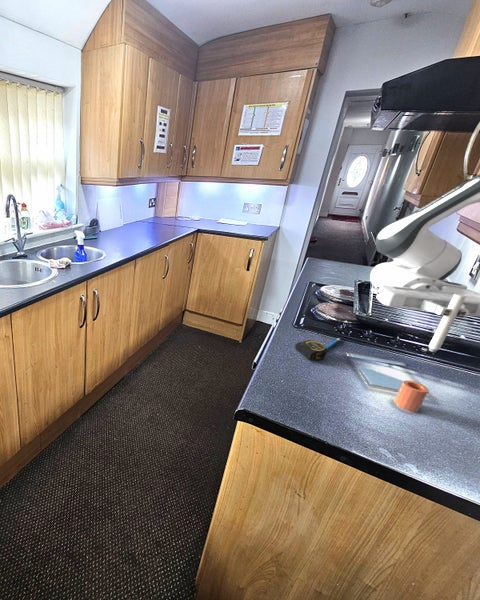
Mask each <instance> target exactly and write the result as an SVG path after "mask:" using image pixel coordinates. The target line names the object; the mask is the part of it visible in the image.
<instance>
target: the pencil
mask: <svg viewBox="0 0 480 600" xmlns="http://www.w3.org/2000/svg"><path fill="white" fill-rule="evenodd" d="M340 341H341V337H338V338H336V339H335V340H333V341H332V342H331V343H329V344H328V345H325V346H326V348H327V350H328V349H329V348H331V347H332V346H333V345H335V344H336V343H337V342H340Z"/></svg>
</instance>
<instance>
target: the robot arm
mask: <svg viewBox="0 0 480 600" xmlns="http://www.w3.org/2000/svg"><path fill="white" fill-rule="evenodd" d="M477 203H480V173H479V174H477V175H476V176H472V178H470V179H468V180H466V181H464V182H462V183H460V184H459V185H457V186H455V187H454V188H452V189H450V190H449V191H447V192H445V193H444V194H442V195H440V196H438V197H437V198H435V199H433V200H432V201H430V202H429V203H427V204H425V205H423V206H421V207H420V208H418V209H417V210H414V211H413V212H411V213H410V214H407V215H406V216H403V217H401V218H399V219H397V220H394V221H393V222H391V223H389V224H387V225H385V227H383V228H382V229H381V230H380V231H379V232H378V233H377V235H376V238H375V248H376V251H377V253H380V254H382V255H383V256H386V257H388V258H389V259H392V260H393V261H386V262H381V263H379V264H377V265H375V266H374V267H373V268H372V269H371V271H370V274H369V280H370V283H371V284H372V286H373V287H371V288H370V292H371V293H373V294H375V295H376V296H375V298H376V300H377V301H379V302H380V303H381V304H382V305H383V306H386V307H388V308H389V307H390V308H397V309H398V308H399V309H405V310H406V309H407V310H410V311H424V312H425V311H426V312H431V313H435V314H436V315H438V316H448V315H449V312H450V311H451V309H450V308H448V306H449V303H450V301H451V299H452V297H453V295H454V294H462V295H465V296H466V298H465V300H464V302H463V304H462V306H461V308H460V310H459V312H458V314H457V316H456V318H462V319H466V318H468V316H470V317H480V293H479V292H477V291H474V290H471V289H468V286H467V285H465V284H462V283H458V282H452V281H448V280H445V279H447V278H448V277H449V276H451V275H452V274H453V273H455V272H456V271H457V269H458V267H459V266H460V264H461V262H462V257H463V253H462V251H461V250H460V249H458V247H456V246H454V245H453V244H451V243H450V242H449V241H447V240H445V239H443V238H442V237H441V236H438V235H437V234H435V233H434V232H433V231H431V230H430V228H431V227H432V226H434V225H435V224H438V223H439V222H441V221H443V220H444V219H446V218H448V217H450V216H451V215H453V214H455V213H457V212H459V211H460V210H462V209H464V208H466V207H468V206H470V205H474V204H477Z"/></svg>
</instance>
